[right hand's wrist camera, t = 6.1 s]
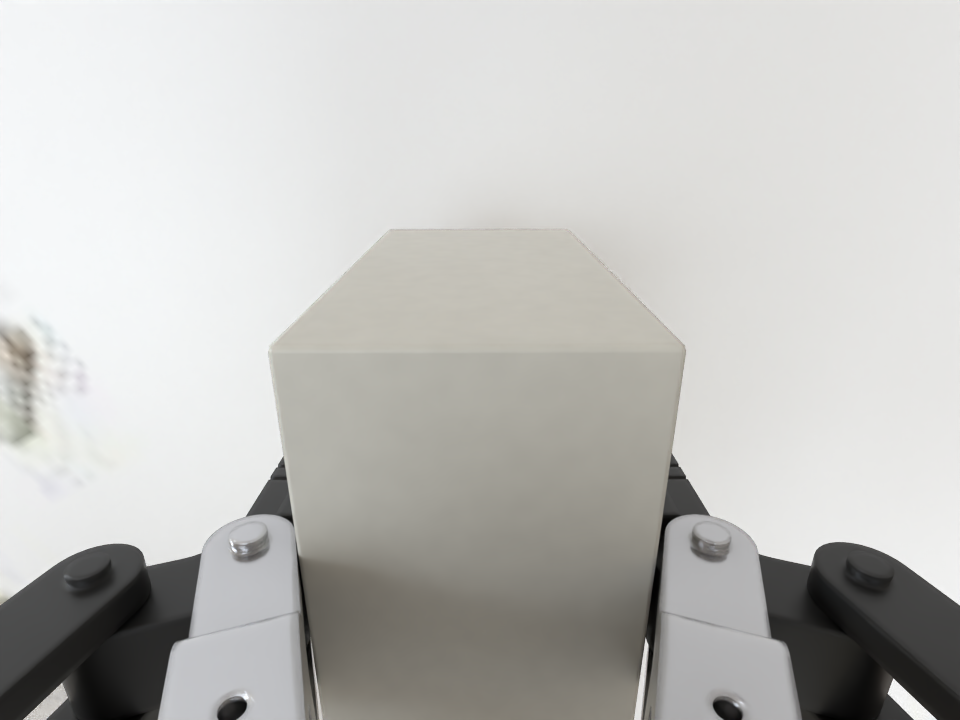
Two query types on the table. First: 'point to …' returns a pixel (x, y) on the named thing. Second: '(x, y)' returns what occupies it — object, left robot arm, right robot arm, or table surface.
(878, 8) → the table surface
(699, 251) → the table surface
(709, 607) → the right robot arm
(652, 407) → the bar
